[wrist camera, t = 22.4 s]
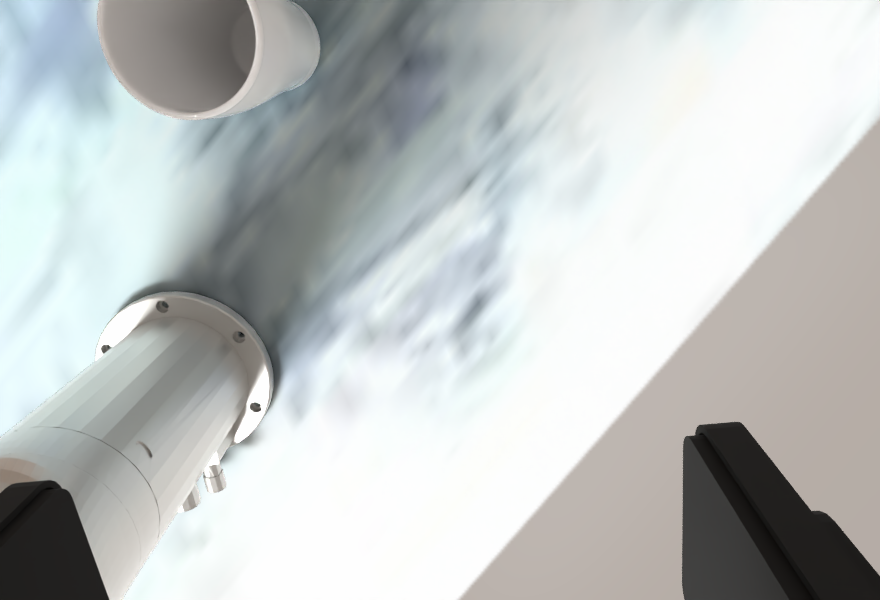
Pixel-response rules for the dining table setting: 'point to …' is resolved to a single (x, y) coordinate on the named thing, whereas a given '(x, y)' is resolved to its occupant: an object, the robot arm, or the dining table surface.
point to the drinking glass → (207, 52)
